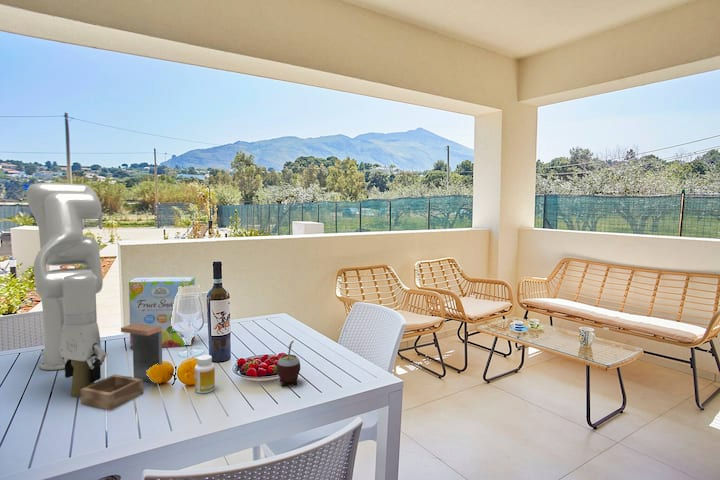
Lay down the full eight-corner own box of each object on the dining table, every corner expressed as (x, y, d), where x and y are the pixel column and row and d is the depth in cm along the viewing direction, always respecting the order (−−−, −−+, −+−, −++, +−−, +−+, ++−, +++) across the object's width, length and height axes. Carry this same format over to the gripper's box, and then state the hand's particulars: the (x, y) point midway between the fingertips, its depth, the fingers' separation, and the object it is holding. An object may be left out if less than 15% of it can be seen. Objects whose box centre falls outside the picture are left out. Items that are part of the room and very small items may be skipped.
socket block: (80, 403, 108) (80, 389, 107) (115, 387, 117) (114, 374, 117) (110, 410, 104) (109, 395, 104) (143, 393, 114) (142, 379, 114)
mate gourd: (286, 376, 127) (286, 330, 126) (306, 381, 124) (307, 333, 122) (271, 385, 120) (270, 336, 119) (292, 391, 117) (292, 341, 116)
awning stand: (122, 384, 120) (120, 327, 118) (137, 377, 124) (135, 323, 123) (149, 389, 117) (147, 331, 115) (162, 382, 121) (161, 326, 120)
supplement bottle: (218, 387, 119) (218, 355, 118) (206, 395, 114) (205, 361, 113) (203, 384, 121) (203, 352, 120) (190, 392, 115) (190, 359, 115)
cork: (83, 398, 111) (81, 359, 110) (64, 395, 112) (63, 357, 111) (101, 388, 117) (100, 351, 116) (83, 386, 118) (82, 349, 117)
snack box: (129, 350, 147) (126, 281, 145) (136, 342, 156) (134, 277, 154) (192, 346, 152) (191, 279, 150) (196, 339, 161) (195, 275, 159)
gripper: (44, 318, 112) (47, 379, 113) (91, 325, 106) (93, 388, 108) (71, 312, 119) (73, 369, 120) (116, 317, 114) (118, 377, 115)
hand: (83, 378), depth 114 cm, fingers open, 8 cm apart
